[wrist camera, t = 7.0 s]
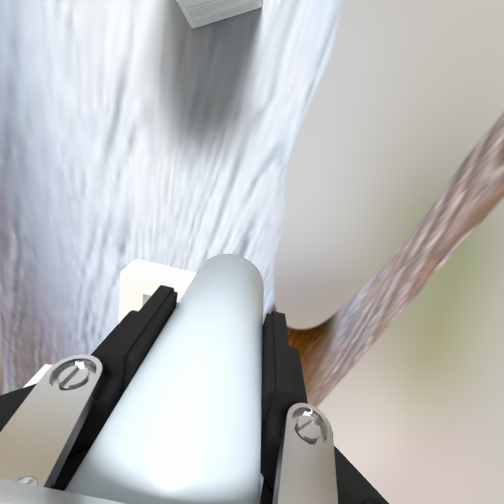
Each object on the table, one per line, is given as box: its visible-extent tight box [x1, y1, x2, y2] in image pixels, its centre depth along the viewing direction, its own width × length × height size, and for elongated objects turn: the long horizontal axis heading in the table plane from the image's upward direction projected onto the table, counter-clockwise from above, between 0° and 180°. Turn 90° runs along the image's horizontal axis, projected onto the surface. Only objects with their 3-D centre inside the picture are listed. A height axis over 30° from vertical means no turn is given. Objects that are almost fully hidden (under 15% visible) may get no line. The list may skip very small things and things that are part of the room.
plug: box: [65, 254, 264, 504], centre depth 9 cm, size 4×4×12 cm
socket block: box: [118, 259, 196, 324], centre depth 35 cm, size 20×11×4 cm, turn 167°
